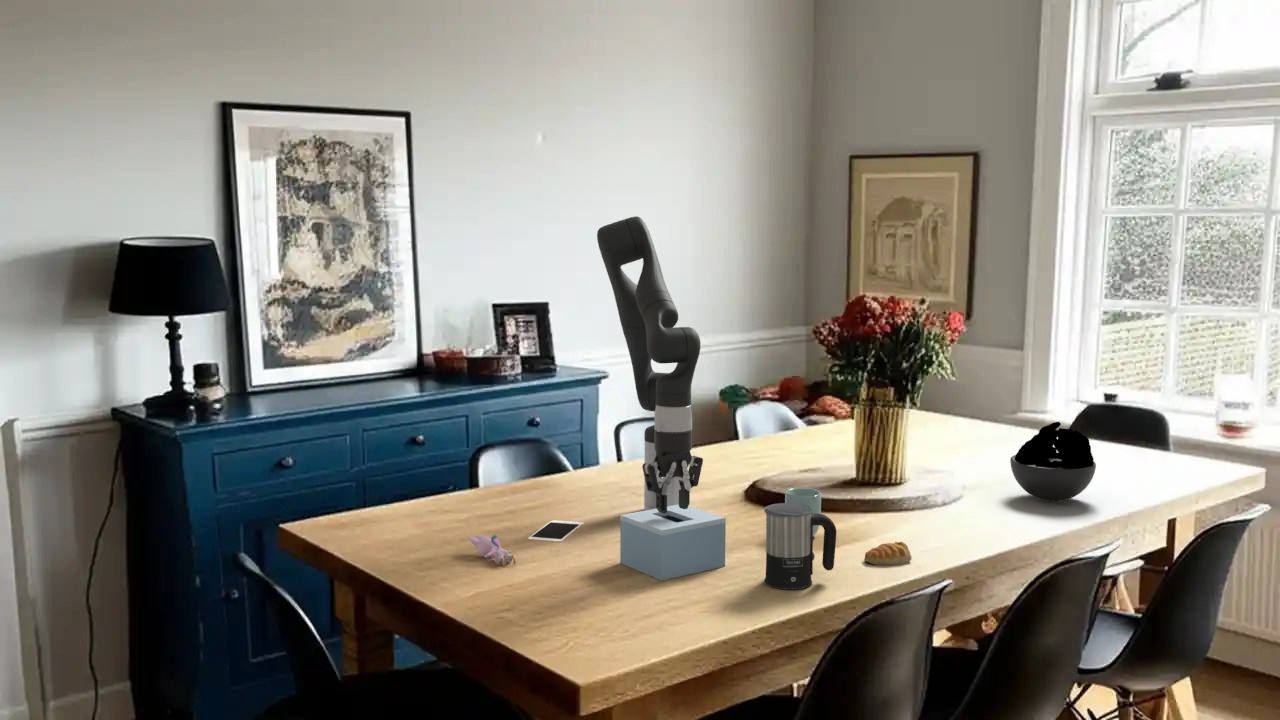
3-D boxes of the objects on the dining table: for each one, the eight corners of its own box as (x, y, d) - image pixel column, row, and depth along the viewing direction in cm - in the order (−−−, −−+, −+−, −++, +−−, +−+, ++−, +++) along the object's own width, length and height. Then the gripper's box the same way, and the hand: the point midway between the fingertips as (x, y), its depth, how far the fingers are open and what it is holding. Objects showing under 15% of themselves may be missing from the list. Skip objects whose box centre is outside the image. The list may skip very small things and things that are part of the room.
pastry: (876, 569, 235) (877, 550, 235) (856, 560, 241) (857, 542, 241) (914, 563, 239) (914, 545, 239) (893, 555, 245) (894, 537, 245)
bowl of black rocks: (1067, 515, 277) (1071, 436, 275) (992, 499, 292) (996, 425, 289) (1109, 501, 290) (1113, 426, 288) (1035, 487, 305) (1038, 415, 303)
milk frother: (778, 593, 220) (779, 516, 218) (739, 569, 234) (740, 497, 232) (842, 584, 225) (844, 509, 224) (800, 561, 240) (802, 490, 238)
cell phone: (584, 525, 269) (584, 522, 269) (560, 544, 253) (560, 541, 253) (552, 522, 271) (552, 519, 271) (526, 541, 256) (526, 538, 255)
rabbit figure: (522, 570, 238) (483, 542, 249) (524, 543, 237) (485, 516, 248) (495, 576, 234) (458, 547, 245) (498, 548, 233) (460, 521, 244)
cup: (823, 533, 261) (824, 489, 259) (816, 542, 253) (817, 497, 252) (788, 530, 263) (789, 486, 262) (781, 539, 256) (782, 494, 255)
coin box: (682, 549, 248) (682, 503, 246) (725, 566, 236) (725, 517, 235) (620, 562, 238) (620, 515, 237) (661, 580, 227) (661, 530, 226)
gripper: (689, 420, 241) (689, 501, 243) (633, 428, 233) (633, 511, 235) (713, 426, 235) (712, 509, 237) (655, 433, 227) (655, 519, 229)
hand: (672, 509), depth 236 cm, fingers open, 4 cm apart
